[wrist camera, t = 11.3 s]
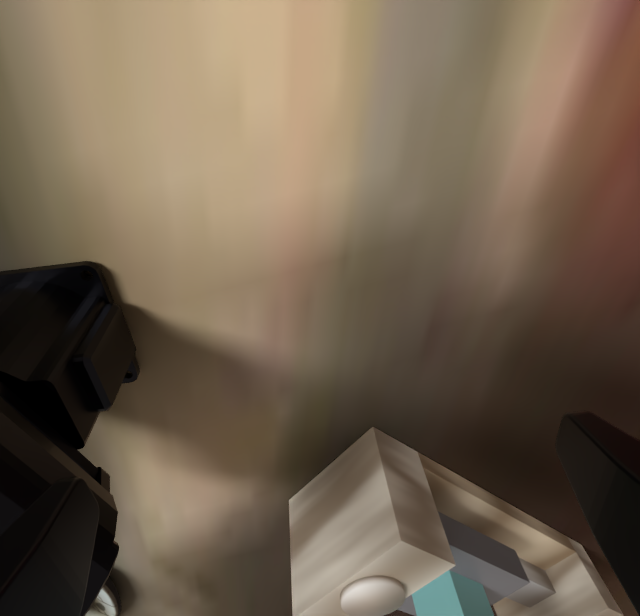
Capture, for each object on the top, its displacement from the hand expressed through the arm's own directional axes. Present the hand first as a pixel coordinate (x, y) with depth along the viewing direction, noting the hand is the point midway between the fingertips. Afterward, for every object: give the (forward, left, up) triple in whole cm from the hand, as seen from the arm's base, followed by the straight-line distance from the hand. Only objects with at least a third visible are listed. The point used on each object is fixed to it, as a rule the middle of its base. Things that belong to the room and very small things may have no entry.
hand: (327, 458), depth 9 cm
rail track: (+8, -24, -13) cm, 28 cm away
